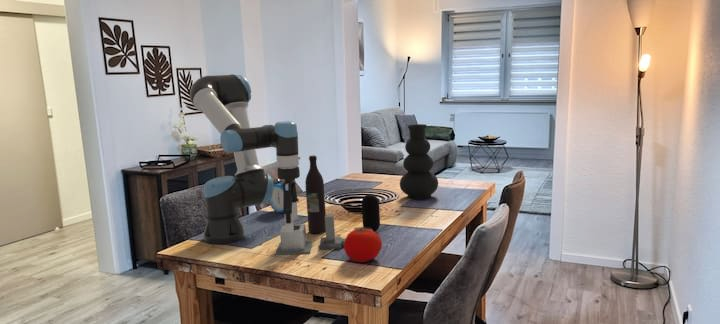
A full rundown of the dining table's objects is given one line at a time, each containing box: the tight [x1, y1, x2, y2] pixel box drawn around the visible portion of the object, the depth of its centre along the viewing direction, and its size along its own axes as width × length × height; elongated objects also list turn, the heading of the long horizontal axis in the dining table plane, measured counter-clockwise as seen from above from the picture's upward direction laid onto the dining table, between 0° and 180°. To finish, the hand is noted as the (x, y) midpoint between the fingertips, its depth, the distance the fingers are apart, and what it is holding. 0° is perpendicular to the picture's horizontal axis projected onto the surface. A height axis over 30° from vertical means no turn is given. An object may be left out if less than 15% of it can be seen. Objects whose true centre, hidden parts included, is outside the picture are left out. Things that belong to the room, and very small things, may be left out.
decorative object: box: [361, 193, 381, 233], centre depth 193 cm, size 7×7×15 cm
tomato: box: [343, 228, 383, 263], centre depth 165 cm, size 11×12×10 cm
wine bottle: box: [305, 154, 327, 235], centre depth 196 cm, size 7×7×30 cm
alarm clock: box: [268, 178, 289, 214], centre depth 231 cm, size 13×6×15 cm, turn 53°
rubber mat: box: [274, 240, 313, 256], centre depth 180 cm, size 12×12×1 cm
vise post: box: [319, 214, 373, 251], centre depth 180 cm, size 19×8×11 cm, turn 91°
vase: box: [399, 123, 439, 200], centre depth 243 cm, size 18×18×35 cm
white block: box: [279, 223, 307, 251], centre depth 179 cm, size 8×8×7 cm
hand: (291, 225), depth 179 cm, fingers open, 13 cm apart
